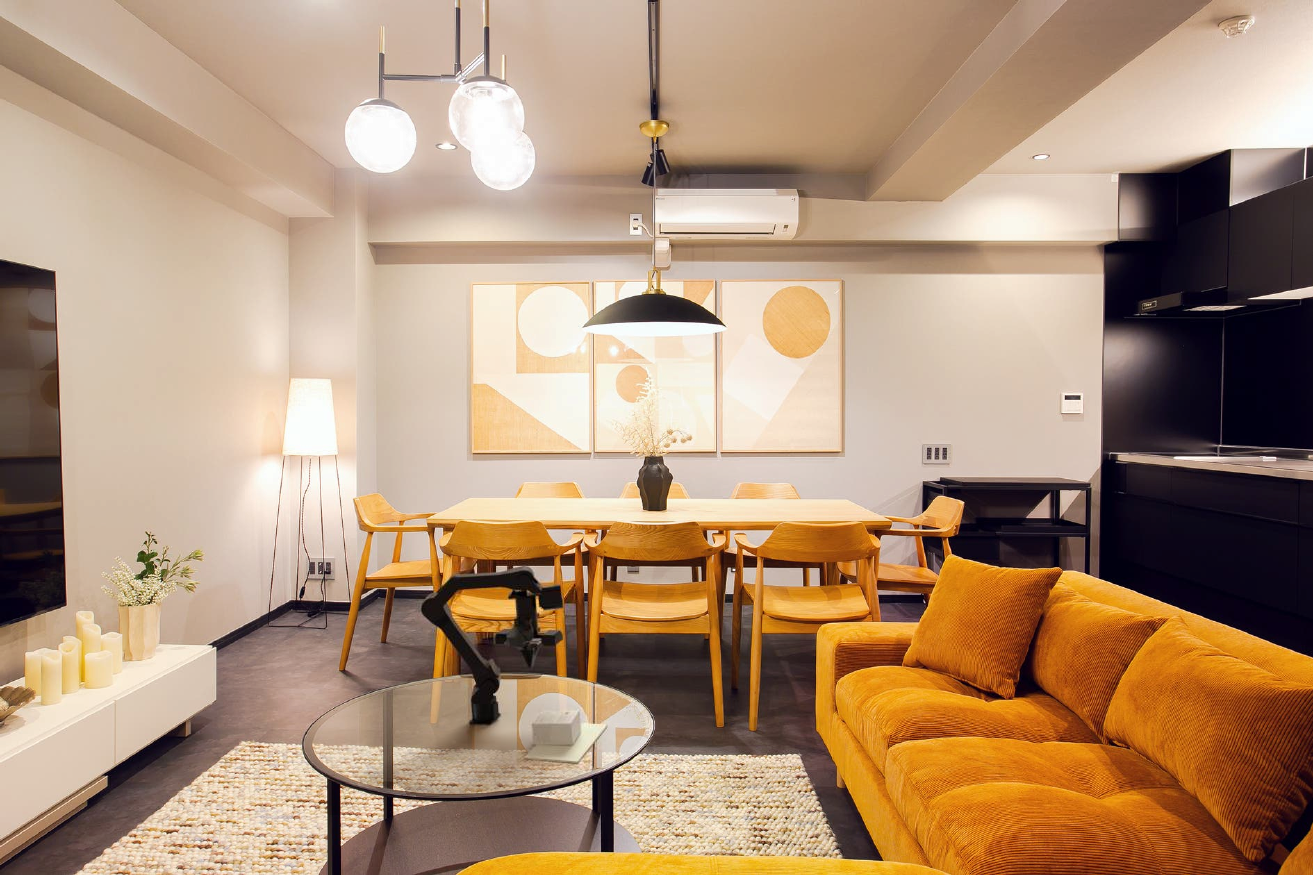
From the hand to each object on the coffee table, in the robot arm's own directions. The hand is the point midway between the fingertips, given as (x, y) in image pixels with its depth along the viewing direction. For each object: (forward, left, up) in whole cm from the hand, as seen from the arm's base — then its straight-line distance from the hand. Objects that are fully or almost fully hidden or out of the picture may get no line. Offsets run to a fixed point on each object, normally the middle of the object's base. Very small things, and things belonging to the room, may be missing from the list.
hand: (530, 667), depth 200 cm
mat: (+17, -15, -13) cm, 26 cm away
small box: (+8, -15, -10) cm, 20 cm away
